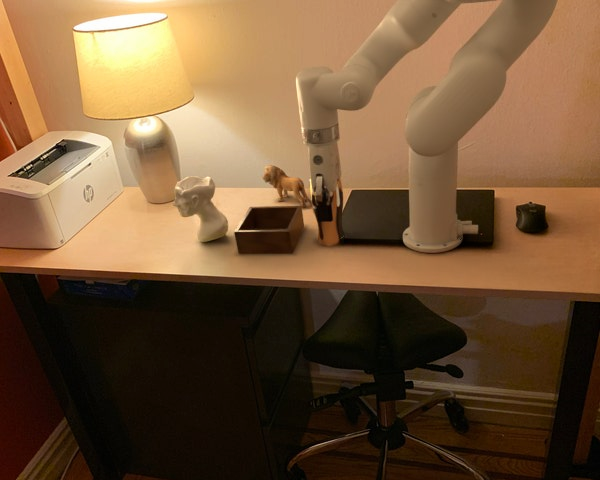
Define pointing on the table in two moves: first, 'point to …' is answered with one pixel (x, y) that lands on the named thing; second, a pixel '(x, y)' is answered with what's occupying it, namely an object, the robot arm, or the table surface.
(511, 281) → the table surface
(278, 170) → the lion figurine
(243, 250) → the tub
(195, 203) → the white sculpted bust
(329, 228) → the beer glass
